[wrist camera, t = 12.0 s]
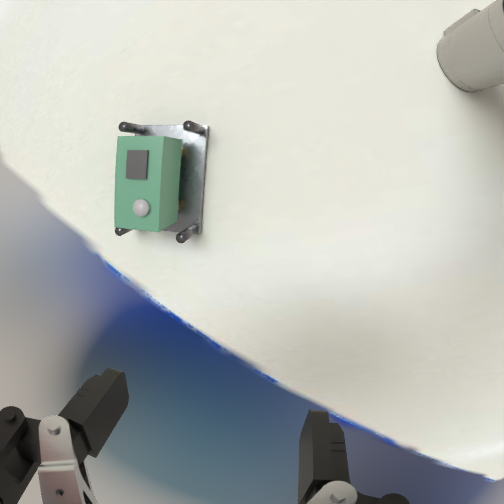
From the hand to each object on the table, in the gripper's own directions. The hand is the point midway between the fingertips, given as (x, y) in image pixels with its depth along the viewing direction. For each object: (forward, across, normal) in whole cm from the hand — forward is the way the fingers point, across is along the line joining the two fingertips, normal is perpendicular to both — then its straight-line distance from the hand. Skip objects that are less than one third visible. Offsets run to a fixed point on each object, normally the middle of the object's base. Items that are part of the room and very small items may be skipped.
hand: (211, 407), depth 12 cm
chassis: (+30, +14, -6) cm, 34 cm away
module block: (+26, +14, -6) cm, 30 cm away
